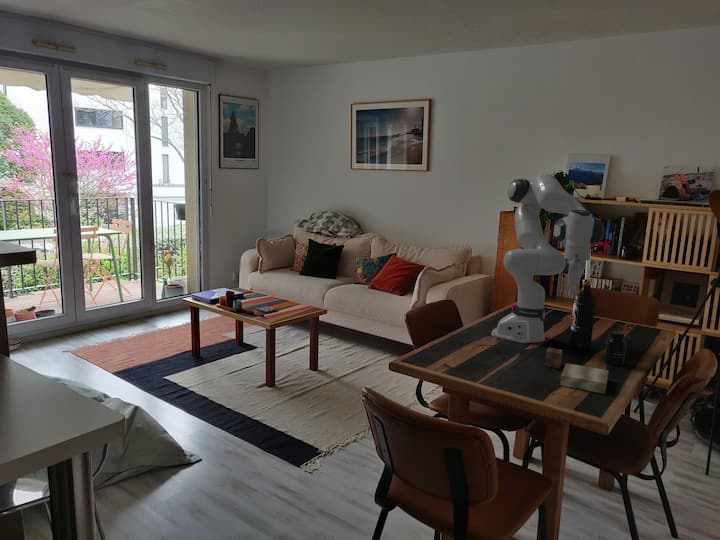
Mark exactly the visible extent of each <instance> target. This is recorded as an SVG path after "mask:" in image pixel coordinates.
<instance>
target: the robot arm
mask: <svg viewBox="0 0 720 540" xmlns="http://www.w3.org/2000/svg"><path fill="white" fill-rule="evenodd" d="M507 196H508V198H509V201H511V202H513V203H516V204H521V205H519V206H518V207H517V208H516V210H515V211H514V228H515V235H516V240H517V241H516V242H517V243H518V245H519V246H520V247H521V248H515V249H510V250H509V249H508V251H507V252H506V253H505V254H504V256H503V260H502V263H503V267H504V269H505V271H506V272H507V273H508V274H510V275H511V276H512V277H513V279H514V281H515V284H516V287H517V302H515V303H513V304H512V307H511V313H509V314H507V315H505V316H503V317H502V318H501V319H500V320H499V322H498V323H497V327H495V328H493V329H492V331H491V333H490V335H491V336H492V337H494V338H498V339H503V340H508V341H513V342H517V343H521V344H529V343H541V342H544V341H546V337H545V331H544V321H545V314H546V311H545V309H546V307H545V299H546V290H545V288H544V286H542V285H541V284H539V283H538V282H536V281H535V280H534V277H533V276H555V275H558V274H561V273H563V271H564V270H565V268H566V264H568V274H567V282H568V283H570V285H569V286H570V288H569V289H570V291H569V293H570V294H574V295H575V294H576V292H577V290H578V288H579V282H580V280H581V278H582V276H583V272H584V268H585V265H586V263H587V261H589V260H590V259H591V253H592V252H591V251H592V250H591V249H592V245H593V246H594V245H597V244H599V243H600V242H601V241H602V240H603V239H604V237H605V235H606V228H605V225H604V224H603V222H602V220H600V218H597V217H596V216H594V215H593V214H592V212H590V210H589V209H588V208H587V207H586V206H585V205H584V204H583V202H581V201H580V199H578V198H577V197H575V196H573V195H571V194H570V193H569V192H567V190H566V189H564V188H563V186H562V185H561V183H560V182H559V181H558V179H557V178H556V177H555V176H554V175H552V174H551V173H545V172H544V173H541V174H539V175H537V176H536V177H535V178H534V180H531V179H530V180H529V179H526V178H517V179H514V180H512V182H511V183H510V184H509V186H508V191H507ZM540 212H541V213H545V212H549V213H557V214H562V215H566V216H565V217H563V218H562V217H561V218H559V219H557V220H556V221H555V223H554V224H553V227H552V228H553V230H552V237H553V238H554V239H555V240H556V241H557V242H558V243H563V244H565V245H564V254H563V252H561V251H560V250H558V249H556V248H555V247H554V246H552V245H551V244H550V243H549V242H548V240H546V237H545V236H544V232H543V229H542V223H541V218H540Z"/></svg>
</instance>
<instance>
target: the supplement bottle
mask: <svg viewBox="0 0 720 540" xmlns="http://www.w3.org/2000/svg"><path fill="white" fill-rule="evenodd" d="M625 337H626V336H625V333H624V332H622V331H618V330H616V331H615V330H611V331H610V335H609V338H607V339H606V342H605V343H606V344H605V345H606V346H605V351H604V359H603V360H604V363H606V364H608V365H611V366H622V365H624V362H625V358H626V357H625V356H626V349H627V342H626V341H625Z"/></svg>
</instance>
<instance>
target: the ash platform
mask: <svg viewBox="0 0 720 540" xmlns="http://www.w3.org/2000/svg"><path fill="white" fill-rule="evenodd" d="M608 378H609V369H602V368H596V367H592V366H591V367H590V366H584V365H580V364H572V363H567V362H566V363H565V365H564V367H563V370H562V373H561V374H560V382H559V386H561V385H562V386H561V387H566V386H567V387H568V388H571V387H573V388H572V389H576V388H578V389H577V390H582V389H583V390H582V391H588V392H591V393H592V392H594V393H597V392H598V394H603V393H604V394H603V395H606V389H607V385H608ZM567 387H566V388H567Z"/></svg>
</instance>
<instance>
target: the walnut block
mask: <svg viewBox="0 0 720 540" xmlns="http://www.w3.org/2000/svg"><path fill="white" fill-rule="evenodd" d="M545 353H546V354H545V363H544V367H545V366H547V367H546V368H550V367H552V369H556V368H558V369H557V370H560V368H561V365H562V357H563V349H560V348H559V349H558V348H554V347H548V348H547V350H546V352H545Z"/></svg>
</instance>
